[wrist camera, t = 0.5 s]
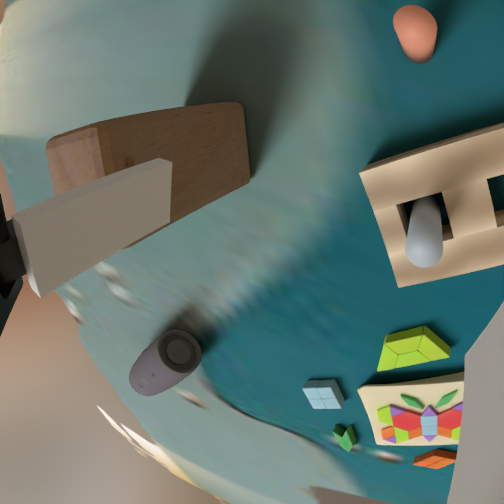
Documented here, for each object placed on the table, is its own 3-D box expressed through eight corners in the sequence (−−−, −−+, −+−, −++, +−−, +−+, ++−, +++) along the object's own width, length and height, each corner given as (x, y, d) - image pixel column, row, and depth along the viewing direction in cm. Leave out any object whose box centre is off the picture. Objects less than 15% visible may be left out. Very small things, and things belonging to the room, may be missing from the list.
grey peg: (408, 198, 29) (400, 235, 22) (435, 190, 28) (437, 225, 20) (416, 225, 30) (410, 271, 22) (443, 218, 28) (446, 263, 21)
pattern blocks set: (369, 468, 52) (364, 479, 50) (284, 362, 50) (275, 374, 47) (548, 431, 28) (549, 445, 25) (528, 274, 25) (534, 288, 23)
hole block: (366, 165, 30) (359, 173, 27) (524, 116, 19) (536, 118, 16) (402, 268, 33) (398, 287, 30) (548, 232, 22) (559, 248, 19)
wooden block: (246, 100, 34) (94, 122, 18) (254, 183, 38) (123, 256, 23) (180, 109, 38) (40, 141, 23) (190, 181, 43) (64, 241, 27)
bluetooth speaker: (180, 314, 57) (143, 346, 50) (215, 351, 57) (182, 387, 49) (146, 351, 72) (118, 376, 64) (173, 379, 72) (146, 406, 64)
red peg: (397, 40, 23) (385, 13, 15) (424, 30, 21) (422, -1, 13) (411, 67, 23) (406, 50, 16) (438, 58, 22) (445, 37, 14)
